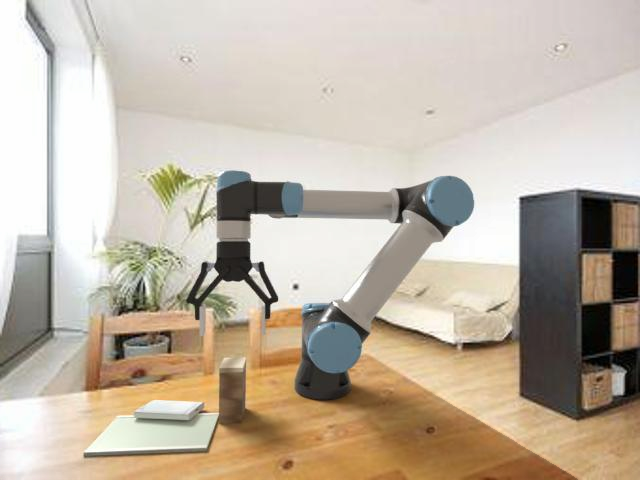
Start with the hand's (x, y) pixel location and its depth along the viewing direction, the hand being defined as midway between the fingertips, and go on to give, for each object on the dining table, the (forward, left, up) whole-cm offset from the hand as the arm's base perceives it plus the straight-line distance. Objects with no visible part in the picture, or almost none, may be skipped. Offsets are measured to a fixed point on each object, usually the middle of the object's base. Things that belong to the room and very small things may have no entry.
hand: (233, 334), depth 85 cm
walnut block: (0, 0, -19) cm, 19 cm away
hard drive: (+14, -1, -18) cm, 23 cm away
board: (+14, +7, -19) cm, 24 cm away
